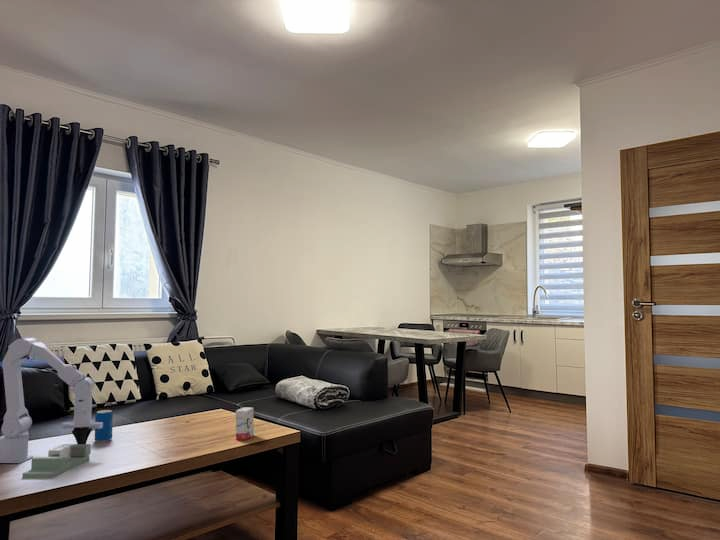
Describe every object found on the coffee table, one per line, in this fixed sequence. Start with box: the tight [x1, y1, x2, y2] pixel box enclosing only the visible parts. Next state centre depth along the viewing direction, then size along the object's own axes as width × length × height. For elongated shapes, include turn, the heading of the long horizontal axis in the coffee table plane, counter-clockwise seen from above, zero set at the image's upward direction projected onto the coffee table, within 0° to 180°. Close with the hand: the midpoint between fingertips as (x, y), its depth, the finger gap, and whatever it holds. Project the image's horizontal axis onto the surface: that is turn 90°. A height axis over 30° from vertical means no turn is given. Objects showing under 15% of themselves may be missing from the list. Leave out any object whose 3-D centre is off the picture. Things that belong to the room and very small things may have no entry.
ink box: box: [235, 406, 255, 441], centre depth 206 cm, size 9×5×12 cm, turn 171°
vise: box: [21, 454, 90, 479], centre depth 168 cm, size 10×20×5 cm, turn 178°
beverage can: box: [94, 409, 114, 443], centre depth 203 cm, size 6×6×12 cm
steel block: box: [47, 445, 71, 463], centre depth 169 cm, size 4×6×5 cm, turn 178°
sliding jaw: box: [60, 443, 92, 456], centre depth 177 cm, size 10×4×4 cm, turn 88°
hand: (81, 448), depth 181 cm, fingers closed
